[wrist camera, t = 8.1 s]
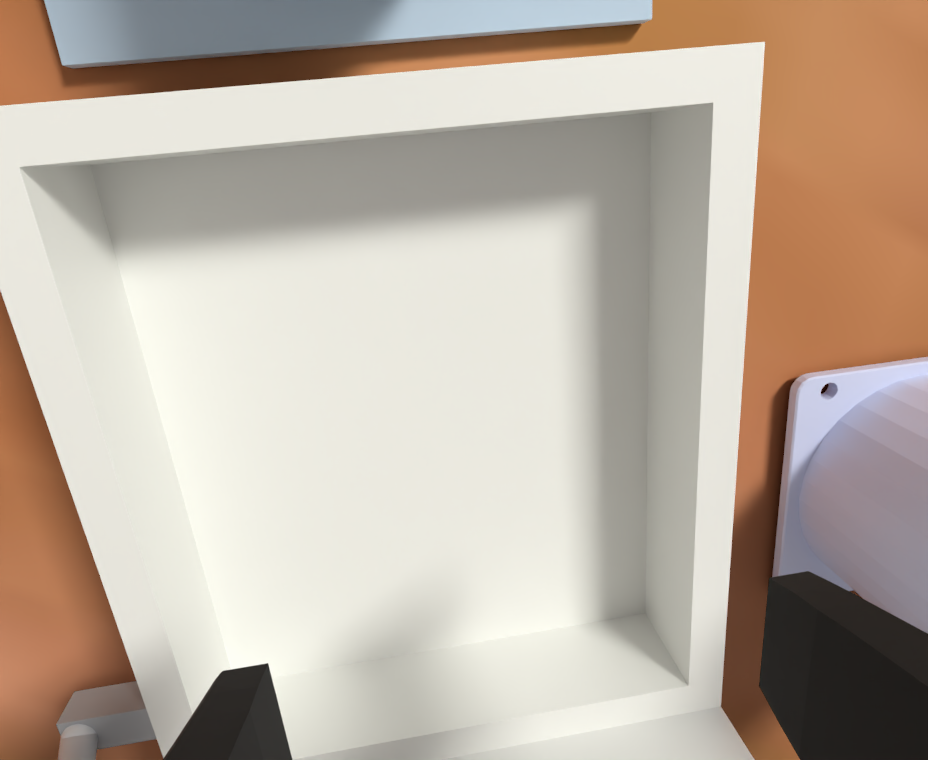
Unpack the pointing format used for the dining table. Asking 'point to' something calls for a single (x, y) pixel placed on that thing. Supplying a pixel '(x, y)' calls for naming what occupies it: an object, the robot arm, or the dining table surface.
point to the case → (402, 396)
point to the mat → (301, 24)
